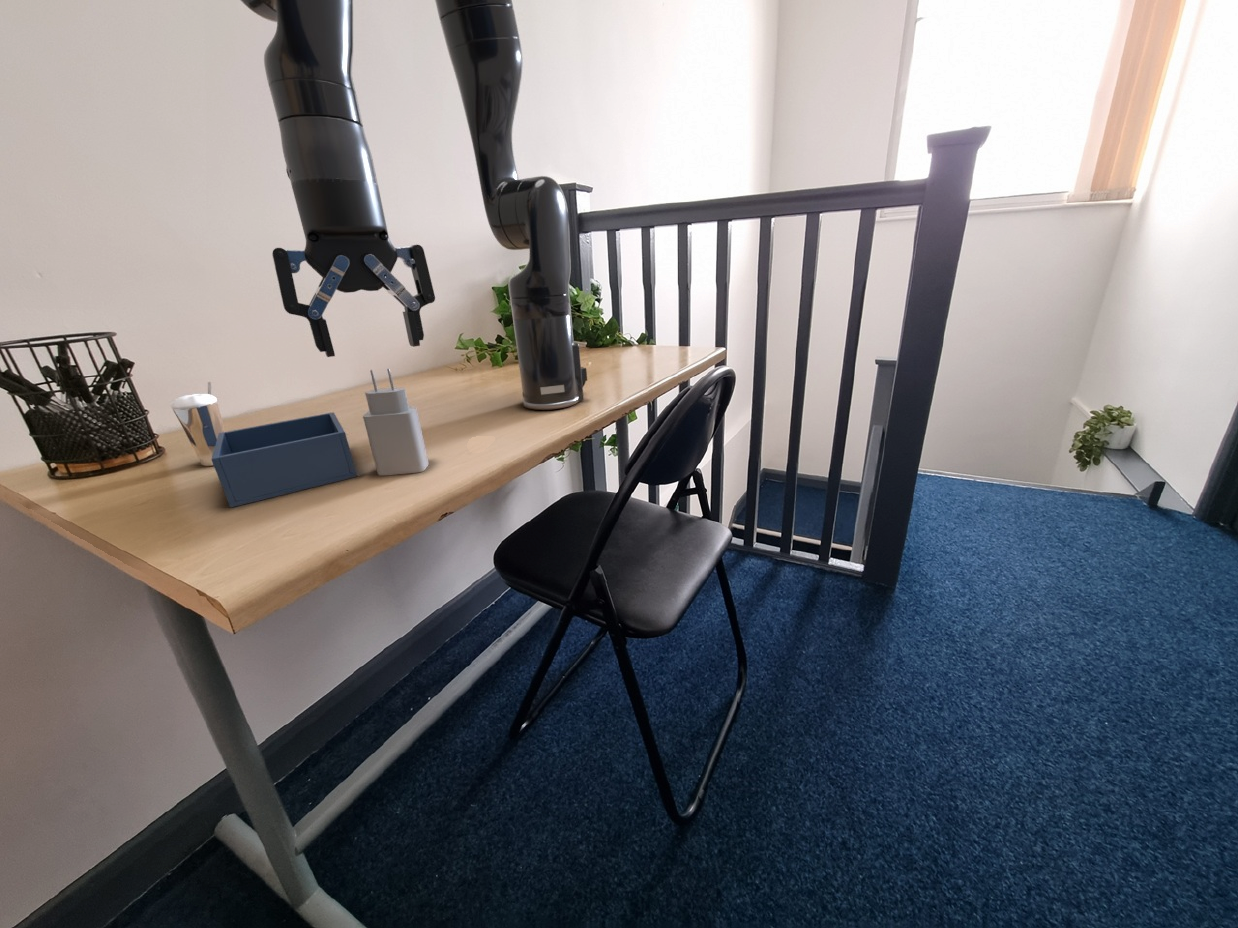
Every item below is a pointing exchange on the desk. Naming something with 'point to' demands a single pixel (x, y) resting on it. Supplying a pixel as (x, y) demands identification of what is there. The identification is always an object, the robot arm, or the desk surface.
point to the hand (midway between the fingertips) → (374, 350)
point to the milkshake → (200, 422)
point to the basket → (282, 458)
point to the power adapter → (394, 431)
